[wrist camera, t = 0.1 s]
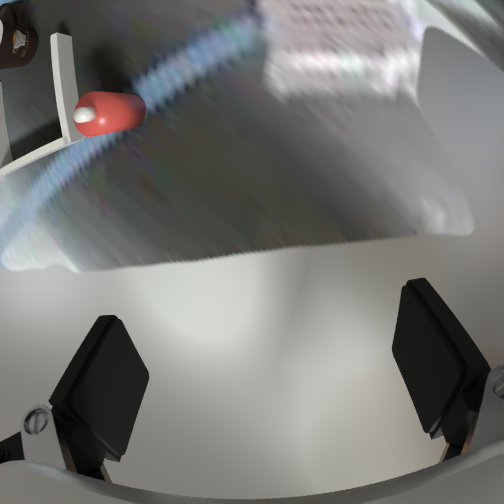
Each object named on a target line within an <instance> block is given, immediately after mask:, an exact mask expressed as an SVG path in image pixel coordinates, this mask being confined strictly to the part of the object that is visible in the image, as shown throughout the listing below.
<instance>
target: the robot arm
mask: <svg viewBox="0 0 504 504" xmlns="http://www.w3.org/2000/svg"><path fill="white" fill-rule="evenodd" d="M392 352H393V356H394V358H395V361H396V363H397V365H398V367H399V370H400V372H401V375H402V377H403V379H404V381H405V384H406V386H407V389H408V391H409V394H410V396H411V399H412V401H413V404H414V407H415V409H416V412H417V414H418V417H419V419H420V422H421V425H422V428H423V430H424V432H425V433H429V434H430V437H431V439H435V438H438V437H440V436H443V435H444V438H445V440H446V442H447V444H446V447H445V449H444V451H443V454H442V456H441V458H440V461H439V463H438V464H436V465H434V466H430V467H428V468H425V469H422V470H419V471H416V472H413V473H410V474H406V475H403V476H399V477H396V478H393V479H389V480H385V481H382V482H378V483H374V484H370V485H366V486H361V487H357V488H352V489H346V490H341V491H335V492H330V493H323V494H315V495H307V496H299V497H287V498H272V499H214V498H200V497H189V496H180V495H172V494H165V493H158V492H152V491H147V490H141V489H136V488H131V487H127V486H122V485H118V484H114V483H112V481H111V479H110V477H109V475H108V472H107V470H106V468H105V466H104V463H103V461H104V458H106V459H107V460H111V461H116V462H120V459H121V456H122V455H124V454H125V452H126V449H127V446H128V442H129V439H130V436H131V433H132V430H133V426H134V423H135V420H136V417H137V414H138V411H139V408H140V405H141V402H142V399H143V396H144V393H145V390H146V387H147V384H148V381H149V373H148V370H147V368H146V366H145V365H144V363H143V361H142V359H141V357H140V355H139V354H138V352H137V350H136V348H135V346H134V344H133V342H132V340H131V338H130V336H129V334H128V332H127V330H126V328H125V326H124V324H123V322H122V320H120V319H118V318H117V317H116V316H115V315H102V316H99V317H98V319H97V320H96V322H95V323H94V325H93V326H92V328H91V329H90V331H89V333H88V334H87V336H86V337H85V339H84V341H83V342H82V344H81V346H80V347H79V349H78V350H77V352H76V354H75V355H74V357H73V359H72V360H71V362H70V364H69V365H68V367H67V369H66V371H65V372H64V374H63V376H62V378H61V379H60V381H59V383H58V385H57V386H56V388H55V390H54V392H53V394H52V396H51V398H50V399H49V402H50V404H51V405H52V406H53V407H52V409H51V410H50V409H49V408H48V407H47V406H45V405H36V406H33V407H32V408H30V409H29V410H28V411H27V412H26V413H25V414H24V416H23V418H22V420H21V431H20V432H18V433H17V434H14V435H13V436H11V437H9V438H7V439H5V440H3V441H1V442H0V504H504V365H499V366H496V367H495V368H493V369H492V370H491V368H490V367H489V365H488V362H487V361H486V359H485V358H484V356H483V355H482V353H481V352H480V351H479V349H478V347H477V346H476V344H475V343H474V341H473V340H472V339H471V337H470V336H469V334H468V333H467V332H466V330H465V329H464V328H463V326H462V325H461V323H460V322H459V320H458V319H457V318H456V317H455V315H454V314H453V312H452V311H451V310H450V309H449V307H448V306H447V305H446V304H445V302H444V301H443V299H442V298H441V297H440V296H439V294H438V293H437V292H436V291H435V290H434V288H433V287H432V286H431V284H430V283H429V282H428V281H427V280H426V279H425V278H418V279H413V280H408V281H407V283H406V285H405V286H403V287H402V291H401V298H400V305H399V311H398V317H397V323H396V329H395V334H394V339H393V344H392Z"/></svg>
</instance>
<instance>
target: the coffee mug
mask: <svg viewBox="0 0 504 504" xmlns="http://www.w3.org/2000/svg"><path fill="white" fill-rule="evenodd" d="M4 6H7V7H9V8H10V10H11V12H12V15H13V19H14V23H15V25H14V24H11V23H9V22H6V21H3V20H1V18H0V69H7V68H13V67H21V66H24V65H26V64H27V63H29V62H30V61H31V59H32V58H33V56H34V55H35V53H36V51H37V48H38V42H39V40H38V35H37V34H36V33H35V32H33V31H30V30H28V29H25V28H22V27H20V26H19V24H18V20H17V16H16V13H15V10H14V8H13V6H12V5H11V4H10V3H4V4H2V5H1V6H0V11H1V9H2V8H3V7H4Z"/></svg>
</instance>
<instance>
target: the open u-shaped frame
mask: <svg viewBox="0 0 504 504" xmlns="http://www.w3.org/2000/svg"><path fill="white" fill-rule="evenodd" d="M51 54H52V66H53V76H54V85H55V93H56V100H57V107H58V113H59V119H60V125H61V130H62V135H63V137H62V138H60V139H57V140H55V141H53V142H51V143H49V144H47V145H44V146H42V147H40V148H38V149H36V150H34V151H32V152H30V153H28V154H26V155H25V156H23V157H21V158H19V159H17V160H15V161H13V159H12V154H11V149H10V144H9V139H8V133H7V127H6V120H5V113H4V104H3V94H2V82H0V177H1V176H4V175H6V174H9V173H11V172H13V171H15V170H17V169H19V168H21V167H23V166H25V165H27V164H29V163H31V162H33V161H35V160H37V159H39V158H42V157H44V156H46V155H48V154H50V153H53V152H55V151H57V150H60V149H62V148H64V147H67V146H69V145H72V144H74V143H77V142H79V141H82V140H84V139H86V137H85V136H84V135H82V134H81V133H80V132H79V131H78V130H77V128H76V126H75V123H74V110H75V107H76V104H77V103H78V101H79V98H78V92H77V85H76V77H75V69H74V59H73V48H72V36H68V35H65V34H61V33H55V34H53V35H52V36H51Z"/></svg>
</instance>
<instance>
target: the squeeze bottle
mask: <svg viewBox="0 0 504 504" xmlns="http://www.w3.org/2000/svg"><path fill="white" fill-rule="evenodd" d="M145 114H146V106H145V103H144V101H143V99H142V98H141V97H139V96H138V95H135V94H127V93H115V92H101V91H92V92H89V93H87V94H85V95H84V96H82V97H81V98H80V100H79V101H78V103H77V104H76V107H75V110H74V123H75V126H76V128H77V130H78V131H79V132H80V133H81V134H82V135H84V136H88V137H92V136H98V135H102V134H107V133H112V132H117V131H123V130H128V129H133V128H135V127H137V126H138V125H140V124H141V122H142V121H143V119H144V117H145Z"/></svg>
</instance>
